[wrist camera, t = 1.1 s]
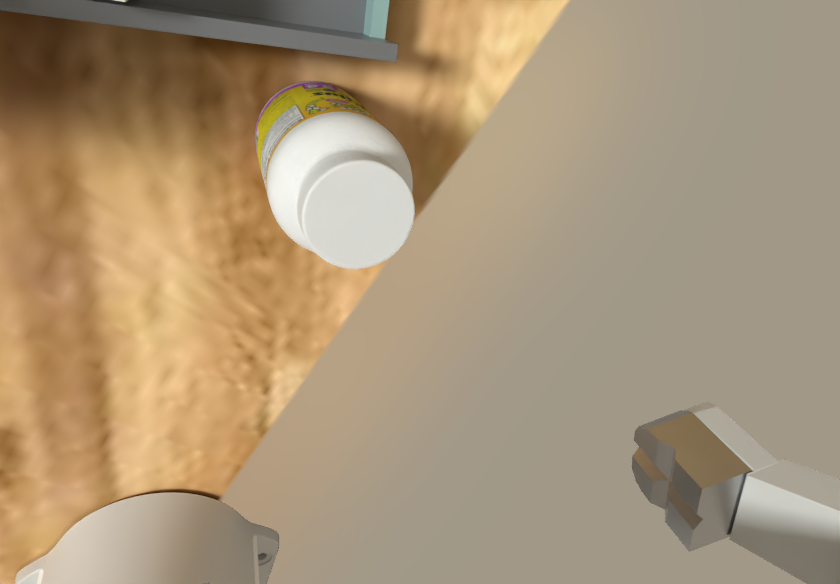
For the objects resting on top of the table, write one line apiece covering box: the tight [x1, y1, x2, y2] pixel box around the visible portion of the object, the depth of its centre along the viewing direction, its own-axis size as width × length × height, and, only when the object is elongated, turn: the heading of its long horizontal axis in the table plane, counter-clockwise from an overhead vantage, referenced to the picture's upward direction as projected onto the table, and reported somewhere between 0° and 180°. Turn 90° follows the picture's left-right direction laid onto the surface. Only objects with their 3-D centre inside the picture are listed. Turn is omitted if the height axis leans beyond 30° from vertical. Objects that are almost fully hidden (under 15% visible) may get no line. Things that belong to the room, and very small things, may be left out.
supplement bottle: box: [255, 81, 415, 269], centre depth 28 cm, size 7×7×13 cm
